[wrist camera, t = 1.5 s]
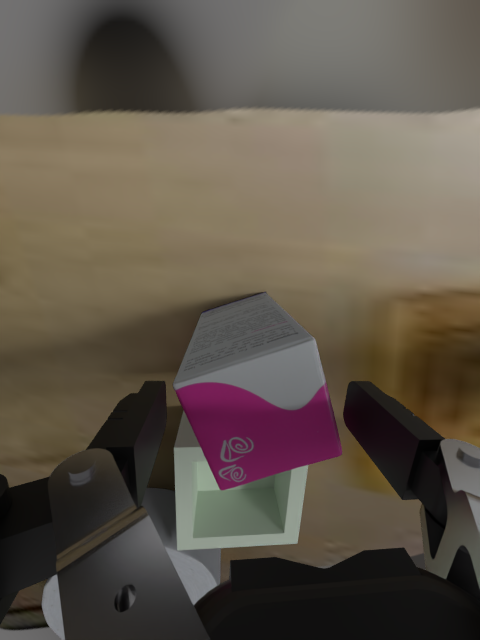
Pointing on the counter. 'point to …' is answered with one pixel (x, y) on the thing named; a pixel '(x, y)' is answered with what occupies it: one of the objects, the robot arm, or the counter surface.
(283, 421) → the supplement box
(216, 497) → the holder
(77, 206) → the counter surface
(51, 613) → the tape roll
